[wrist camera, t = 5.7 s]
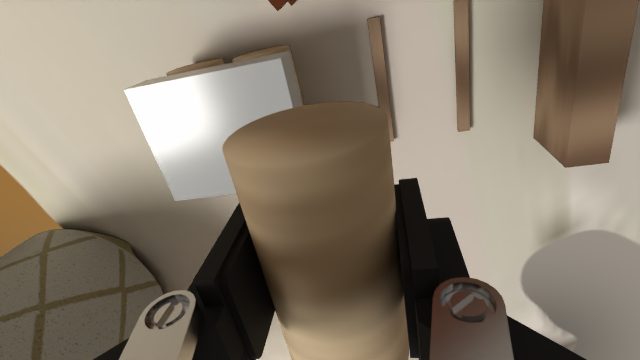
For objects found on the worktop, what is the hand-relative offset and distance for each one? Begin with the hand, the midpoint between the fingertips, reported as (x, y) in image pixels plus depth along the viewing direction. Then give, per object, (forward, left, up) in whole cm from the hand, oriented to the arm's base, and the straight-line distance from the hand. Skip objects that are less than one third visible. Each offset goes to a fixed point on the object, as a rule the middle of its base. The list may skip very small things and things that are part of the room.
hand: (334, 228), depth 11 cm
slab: (0, -8, -13) cm, 15 cm away
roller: (0, 0, -1) cm, 1 cm away
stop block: (0, +14, -17) cm, 22 cm away
